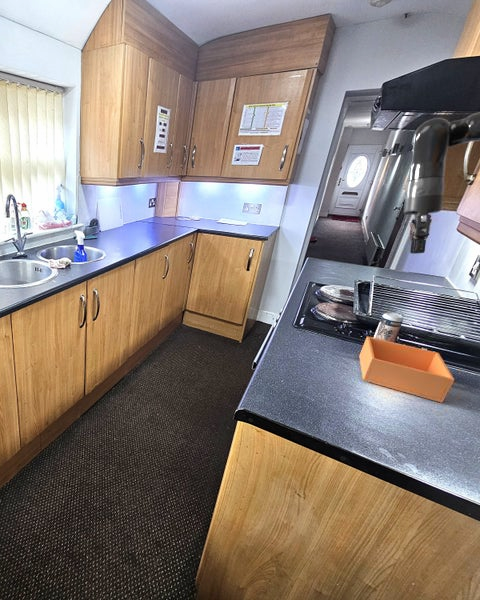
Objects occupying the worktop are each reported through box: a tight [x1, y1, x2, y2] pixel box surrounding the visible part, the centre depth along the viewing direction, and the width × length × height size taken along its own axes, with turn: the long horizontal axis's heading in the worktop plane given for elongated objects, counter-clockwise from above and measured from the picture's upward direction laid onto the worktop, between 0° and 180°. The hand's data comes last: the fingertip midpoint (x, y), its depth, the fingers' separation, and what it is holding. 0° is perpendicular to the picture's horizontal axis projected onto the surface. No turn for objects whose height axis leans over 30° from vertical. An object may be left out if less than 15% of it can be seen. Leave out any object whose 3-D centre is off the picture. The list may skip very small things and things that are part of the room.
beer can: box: [373, 311, 404, 343], centre depth 101 cm, size 5×5×12 cm
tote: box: [358, 336, 455, 404], centre depth 88 cm, size 15×15×7 cm
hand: (416, 253), depth 95 cm, fingers open, 8 cm apart
